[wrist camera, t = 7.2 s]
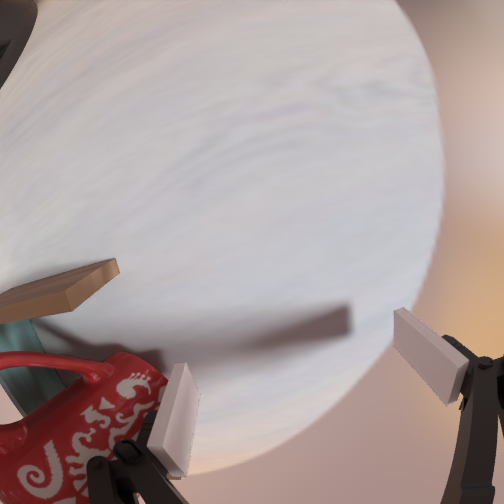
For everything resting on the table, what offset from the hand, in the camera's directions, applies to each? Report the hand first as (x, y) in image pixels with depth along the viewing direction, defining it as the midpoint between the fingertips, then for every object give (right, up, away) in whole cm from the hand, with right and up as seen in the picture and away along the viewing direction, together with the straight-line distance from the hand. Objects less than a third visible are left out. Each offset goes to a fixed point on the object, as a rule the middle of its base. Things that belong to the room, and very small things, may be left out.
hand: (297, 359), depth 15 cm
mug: (-10, -2, +1) cm, 10 cm away
